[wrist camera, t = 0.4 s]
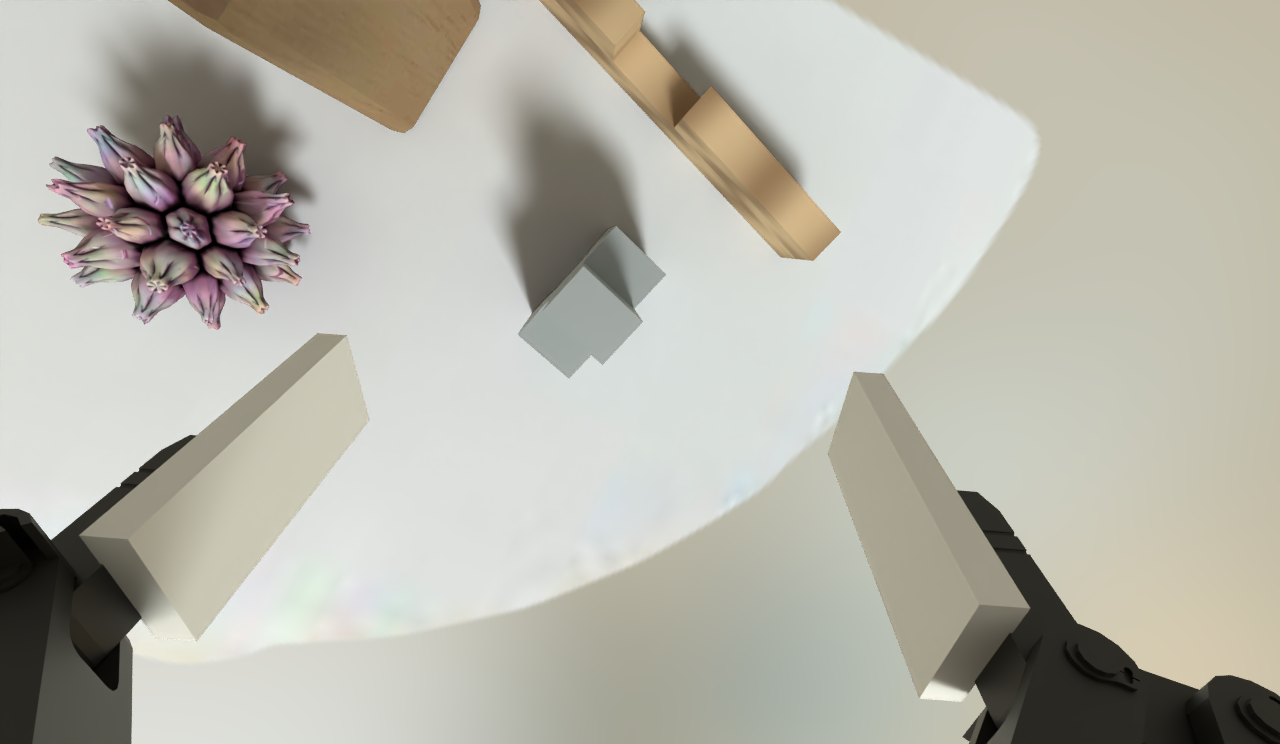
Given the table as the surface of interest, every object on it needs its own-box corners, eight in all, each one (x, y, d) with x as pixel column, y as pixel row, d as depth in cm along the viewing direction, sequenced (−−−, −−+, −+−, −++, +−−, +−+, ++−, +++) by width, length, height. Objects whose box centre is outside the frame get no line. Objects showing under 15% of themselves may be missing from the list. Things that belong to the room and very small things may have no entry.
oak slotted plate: (516, -24, 35) (503, -76, 29) (542, -55, 34) (534, -114, 29) (780, 257, 41) (813, 260, 35) (804, 232, 41) (840, 232, 35)
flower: (372, 283, 38) (282, 303, 27) (211, 335, 38) (51, 377, 27) (298, 115, 35) (160, 57, 24) (122, 170, 35) (-102, 138, 24)
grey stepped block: (572, 348, 41) (566, 403, 28) (532, 313, 40) (505, 352, 27) (648, 266, 40) (680, 281, 27) (609, 228, 39) (622, 223, 26)
